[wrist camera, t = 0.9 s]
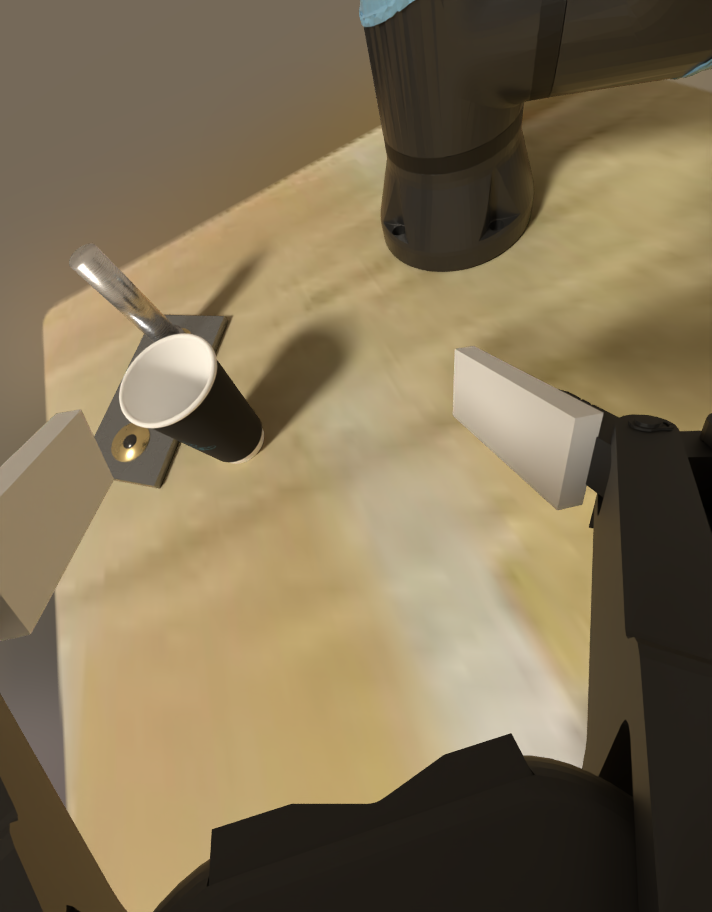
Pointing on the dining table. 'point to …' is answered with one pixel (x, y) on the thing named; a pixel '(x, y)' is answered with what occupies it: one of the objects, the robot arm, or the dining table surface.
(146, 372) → the dixie cup
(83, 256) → the post
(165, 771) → the dining table surface
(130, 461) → the plate
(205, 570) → the dining table surface
